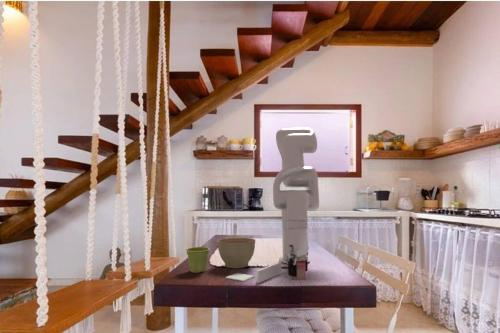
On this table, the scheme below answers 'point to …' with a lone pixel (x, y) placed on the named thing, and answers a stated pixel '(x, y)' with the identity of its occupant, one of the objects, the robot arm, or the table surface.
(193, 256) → the plant pot
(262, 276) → the low wall
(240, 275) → the pad
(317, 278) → the table surface
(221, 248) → the planter bowl
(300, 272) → the small box
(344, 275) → the table surface
